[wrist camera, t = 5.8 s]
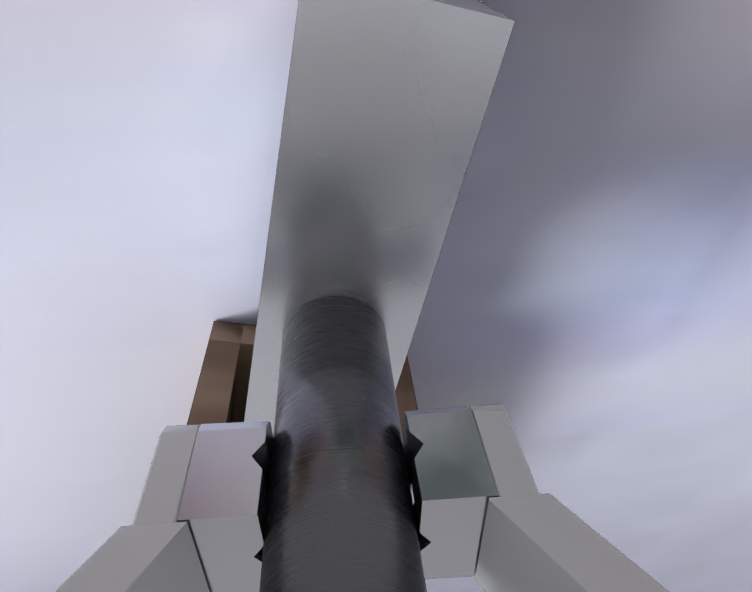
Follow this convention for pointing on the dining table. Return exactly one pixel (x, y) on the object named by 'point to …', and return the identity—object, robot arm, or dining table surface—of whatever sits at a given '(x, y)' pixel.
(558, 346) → the dining table surface
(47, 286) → the dining table surface
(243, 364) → the open wooden box
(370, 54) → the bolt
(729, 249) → the dining table surface
